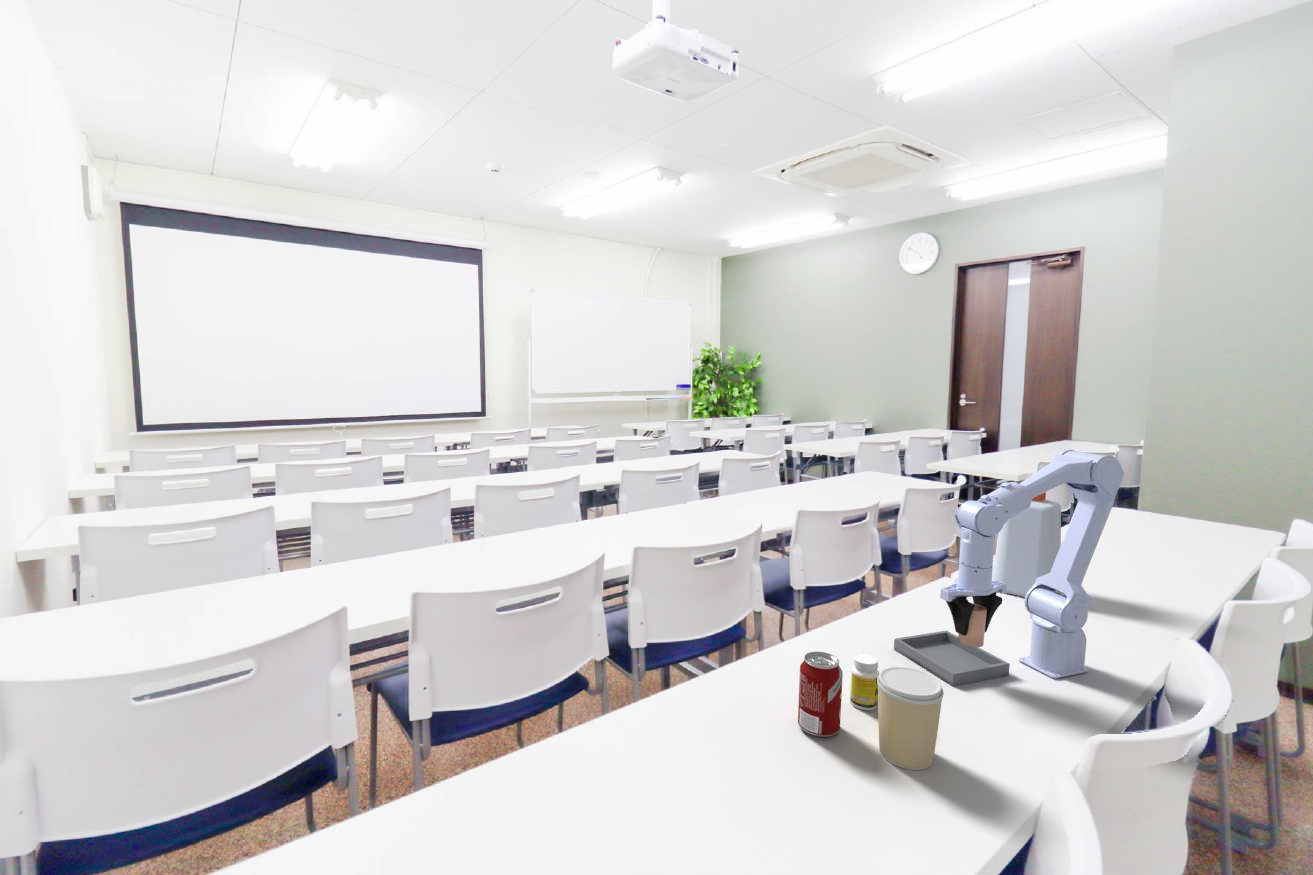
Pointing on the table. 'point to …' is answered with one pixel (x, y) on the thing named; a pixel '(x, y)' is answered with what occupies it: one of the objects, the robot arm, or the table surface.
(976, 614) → the peach cylinder
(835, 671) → the soda can
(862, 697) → the supplement bottle
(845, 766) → the table surface
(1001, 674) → the tray
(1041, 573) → the plastic bottle
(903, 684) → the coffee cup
